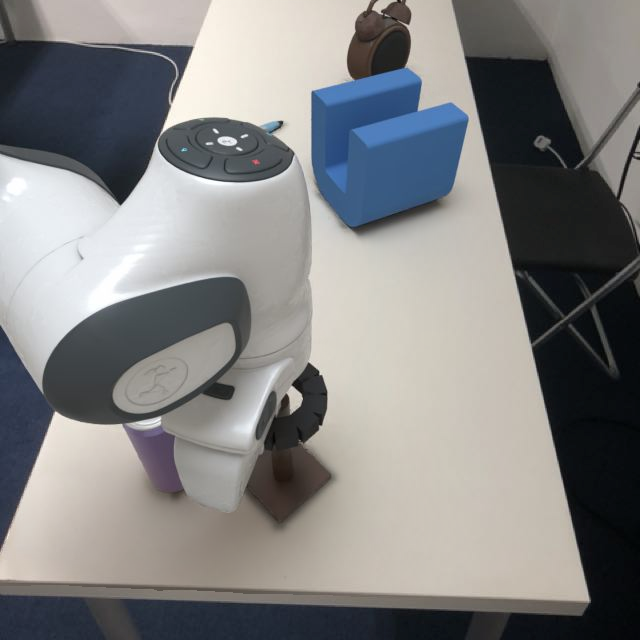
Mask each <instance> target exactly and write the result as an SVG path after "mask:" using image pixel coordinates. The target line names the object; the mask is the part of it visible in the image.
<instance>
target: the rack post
mask: <svg viewBox="0 0 640 640" xmlns="http://www.w3.org/2000/svg"><path fill="white" fill-rule="evenodd" d="M290 399H291V398H290V396H289V394H288V392H287V393H286V394H285V396H284V397H283V398H282V400H281V408H280V410H279V413H278V415H277V418H279V417H284V416H288V415H290V414H291V400H290ZM331 478H332V474H331V473H330V472H329V471H328V470H327V469H326V468H325V467H324V466H323V465H322V464H321V463H320V462H319V461H318V460H317V459H316V458H315V457H314V456H313V455H312V454H311V453H310V452H309V451H308V450H307V449H306V448H305V447H304V446H303V445H302V444H301V443H300V442H299V446H297V447H293V448H288V449H284V450H280V451H277V450H276V445H275V444H274V447H273V449H272V451H270V450H266V449H264V451H263V453H262V454H259V456H258V458H257V461H256V463H255V466H254V468H253V471H252V473H251V476H250V478H249V481H248V483H247V486H246V488H247V489H248V490H249V491H250V492H251V493H252V494H253V495H254V496H255V497H256V499H257V500H258V501H259V502H260V503H261V504H262V505H263V506H264V507H265V508H266V509H267V511H268V512H269V513H270V514H271V515H272V516H273V517H274V518H275V520H277V522H278V523H279V524H282V523H283V522H284V521H285V520H286V519H287V518H289V516H290V515H292V514H293V513H294V512H295V511H296V510H297V509H298V508H300V507H301V506H302V505H303V504H304V503H305V502H306V501H308V500H309V498H311V497H312V496H313V495H314V494H316V492H317V491H318V490H319V489H320V488H321V487H323V486H324V485H325V484H326V483H327V482H328V481H329V480H330V479H331Z"/></svg>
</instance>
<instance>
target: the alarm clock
mask: <svg viewBox="0 0 640 640" xmlns="http://www.w3.org/2000/svg"><path fill="white" fill-rule="evenodd" d="M378 1H379V0H370V1H369V3H368V5H367V8H366V10H363V11H362V12H361V13H359V15H358V16H357V17H356V19H355V22H354V31H355V32H354V34H353V35H352V38H351V40H350V43H349V46H348V49H347V53H346V68H347V71H348V74H349V76H350V77H351V79H352V80H353V81H354V80H358V79H362V78H366V77H370V76H374V75H379V74H383V73H387V72H391V71H395V70H399V69H403V68H406V66H407V64H408V61H409V57H410V54H411V48H412V38H411V37H412V36H411V33H410V30H409V29H408V26H410V24H411V21H412V16H413V15H412V11H411V8H410V7H409V6H408V5H407V4H406V2H407V0H396V1H392V2H390V3H389V4H387V6H386V7H385V8H382V9H381V10H380V13H379V12H378V11H376V10H373V8H374V6H375V4H376V3H377V2H378ZM406 25H407V26H406Z"/></svg>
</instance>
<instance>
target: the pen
mask: <svg viewBox="0 0 640 640" xmlns="http://www.w3.org/2000/svg"><path fill="white" fill-rule="evenodd" d="M283 124H284V120H273V121H270V122H266V123H264V124H262V125H261V124H260V125H259V126H258V125H257V126H258V127H260V128H262V129H264V130H266V131H268V132H269V133H272V131H274V130H276V129H279V127H281V126H282V125H283Z"/></svg>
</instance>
